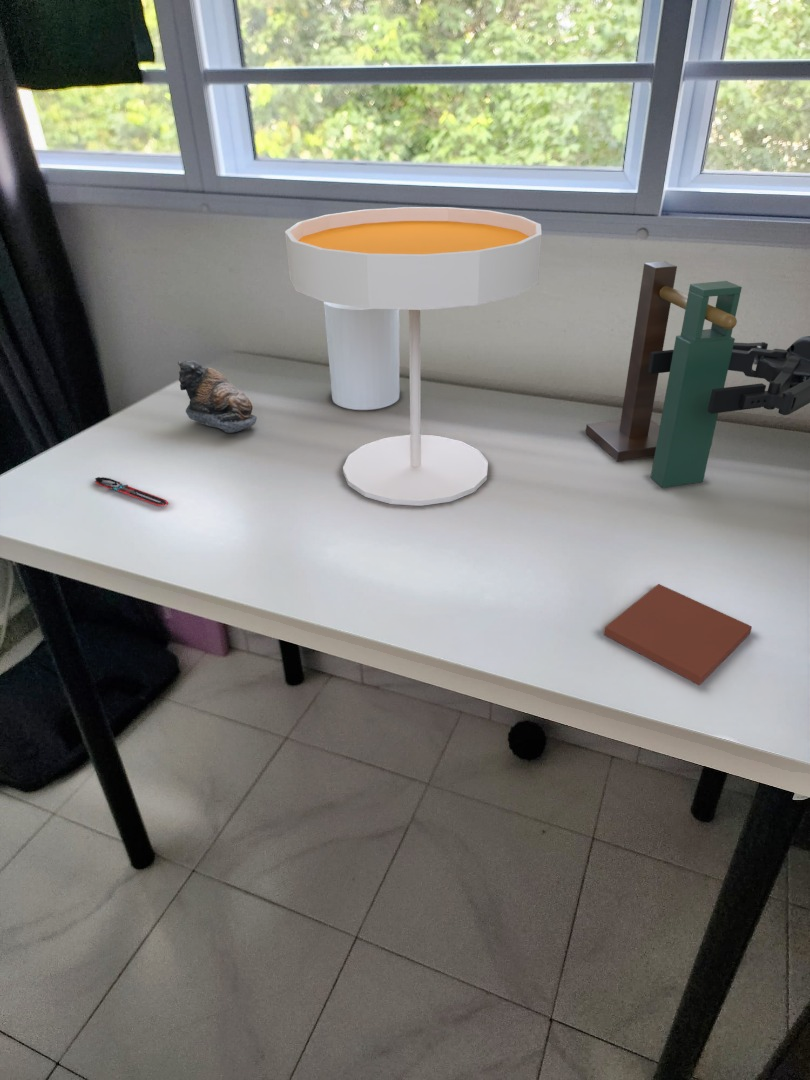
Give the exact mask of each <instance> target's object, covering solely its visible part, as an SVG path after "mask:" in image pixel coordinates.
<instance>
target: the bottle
mask: <svg viewBox="0 0 810 1080" xmlns="http://www.w3.org/2000/svg"><path fill="white" fill-rule="evenodd" d="M323 311H324V323H325V333H326V345H327V354H328V355H327V356H328V357H327V358H328V364H329V365H328V367H329V379H330V390H331V398H332V402H333V403H334V404H335V405H337V406H338V407H341V408H344V409H348V410H356V411H369V410H370V411H371V410H372V411H373V410H378V409H379V410H380V409H383V408H386V407H389V406H392V405H393V404H395V403H397V402H398V401H399V399H400V309H368V308H361V307H355V306H348V305H341V304H335V303H328V302H323Z"/></svg>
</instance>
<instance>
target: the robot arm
mask: <svg viewBox="0 0 810 1080" xmlns="http://www.w3.org/2000/svg"><path fill="white" fill-rule="evenodd" d="M768 346H769V344H768V343H767V342H765V341H760V342H735V341H734V345H733V350H732V354H731V358H730V363H729V367H728V371H732V372H740V373H743V374H744V376H745V377H748V378H756V379H764V380H765V381H766V382H768V387H767V385H766V384H764V383H761V382H760V383H752V384H745V385H737V386H735V385H734V386H728V387H727V386H726V387H724V388H718V389H712V392H711V397H710V402H709V406H708V412H709V413H711V414H713V413H718V414H720V413H728V412H737V411H744V410H745V411H746V410H753V409H760V408H763V409H765V410H769V411H771V410H775V409H777V411H778V414H779V415H782V416H789V415H791V414H792V413H794V412H796V411H798V410H800V409H801V408H803V407H805V406H807V405H809V404H810V335H806V336H802V337H800V338H798V339H796V340H795V341H794V342H792V344H791V345H790V346H789V347H788V348H786V349H782V348H773V349H768ZM673 351H674V349H667V350H663V351H656V352H651V357H650V363H649V369H648V372H649V373H650V374H656V373H659V374H663V373H670V367H671V362H672V356H673ZM754 365H756V366H755V370H754V369H753V366H754ZM766 389H767V390H766Z"/></svg>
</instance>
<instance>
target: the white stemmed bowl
mask: <svg viewBox="0 0 810 1080" xmlns="http://www.w3.org/2000/svg"><path fill="white" fill-rule="evenodd" d="M542 234H543V232H542V223H539V222H536V221H534V220H532V219H529V218H527V217H524V216H522V215H517V214H511V213H506V212H500V211H495V210H487V209H475V208H474V209H473V208H461V207H449V206H448V207H442V206H440V207H439V206H438V207H437V206H436V207H435V206H433V207H432V206H431V207H430V206H429V207H426V206H420V207H419V206H402V207H401V206H400V207H386V208H368V209H359V210H351V211H343V212H336V213H329V214H324V215H323V214H322V215H320V216H316V217H312V218H308V219H305V220H301V221H297V222H296V223H294V225H292V226H291V227H289V228H288V229H286V230H285V231H284V237H285V247H286V256H287V269H288V278H289V282H290V283H291V285H292V286H293V288H294V291H295V292H297V293H300V294H302V295H304V296H307V297H309V298H311V299H315V300H317V301H321V302H322V303H324V302H328V303H335V304H341V305H348V306H355V307H361V308H368V309H399V310H407V311H408V354H409V355H408V358H409V359H408V360H409V361H408V363H409V365H408V366H409V434H404V435H395V436H389V437H387V436H386V437H384V438H380V439H377V440H374V441H371V442H368V443H365V444H363V445H361V446H360V447H358V448H357V449H355V450H354V451H352V452H351V453H350V454H348V455H347V458H346V460H345V462H344V464H343V467H342V474H343V476H344V478H345V480H346V483H347V485H348V487H350V488H351V489H352V490H354V491H356V492H357V493H359V494H360V495H362V496H363V497H365V498H368V499H371V500H375V501H379V502H382V503H386V504H389V505H399V506H400V505H403V506H416V507H417V506H419V507H422V506H429V505H436V504H443V503H450V502H454V501H457V500H458V499H461V498H463V497H465V496H468V495H470V494H473V493H475V492H476V491H477V490H478V489H479V488H480V487H481V486H482V485H484V483H485V482H486V481H488V480H487V479H488V471H489V470H488V468H489V461H488V460H487V458H486V457H485V456H484V455H483V453H482V452H481V451H480V450H479V449H477V448H476V447H473V446H472V445H469V444H468V443H465V442H464V441H461V440H458V439H454V438H450V437H445V436H442V435H441V436H440V435H433V434H429V435H428V434H422V419H421V418H422V411H421V410H422V409H421V407H422V405H421V404H422V403H421V401H422V399H421V397H422V395H421V393H422V392H421V391H422V390H421V384H422V383H421V381H422V380H421V377H422V376H421V375H422V373H421V311H427V310H441V309H451V308H461V307H474V306H481V305H484V304H489V303H493V302H497V301H501V300H505V299H509V298H514V297H518V296H520V295H521V294H523V293H525V292H527V291H528V290H530V289H531V288H533V287H535V286H537V285H538V284H539V273H540V260H541V250H542V249H541V247H542Z"/></svg>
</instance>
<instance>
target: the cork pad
mask: <svg viewBox="0 0 810 1080" xmlns="http://www.w3.org/2000/svg"><path fill="white" fill-rule="evenodd" d="M752 629H753V626H752V625H750V624H748V623H745V622H743V621H741V620H739V619H737V618H735V617H732V616H730V615H728V614H725V613H723V612H721V611H719V610H717V609H715V608H713V607H710V606H708V605H706V604H704V603H702V602H699V601H697V600H695V599H693V598H691V597H688V596H686V595H684V594H682V593H679V592H677V591H676V590H673V589H671V588H669V587H666V586H665V585H662V584H660V583H658V584H657V585H655V586H654V587H653V588H651V589H650V590H649V591H648V592H647V593H645V594H644V595H643V596H642V597H640V598H639V599H638V600H637V601H635V602H634V603H633V604H632V605H630V606H629V607H628V608H626V609H625V610H624V611H623V612H621V614H618V615H617V617H616V618H614V619H613V620H612V621H611V622H609V623H608V624H606V626H605V627H604V632H603V635H604V636H605V637H607V638H609V639H611V640H613V641H614V642H617V643H619V644H621V645H622V646H624V647H626V648H628V649H630V650H632V651H634V652H636V653H637V654H640V655H641V656H643V657H645V658H647V659H649V660H651V661H652V662H654V663H656V664H658V665H660V666H662V667H664V668H666V669H668V670H670V671H672V672H673V673H675V674H677V675H679V676H681V677H683V678H685V679H687V680H688V681H690V682H693V684H696V685H698V686H700V685H702V684H703V683H704V681H706V679H708V678H709V677H710V675H711V674H713V672H715V670H716V669H717V668H719V666H720V665H721V664H722V663H724V662H725V660H727V658H728V657H729V656H730V655H731V654H732V653H734V651H735V650H736V649H737V648H738V647H739V646H740V645H741V644H742V643H743V642H744V641H745V640H746V639H747V638H748V637H749V636H750V634H751V632H752Z"/></svg>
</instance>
